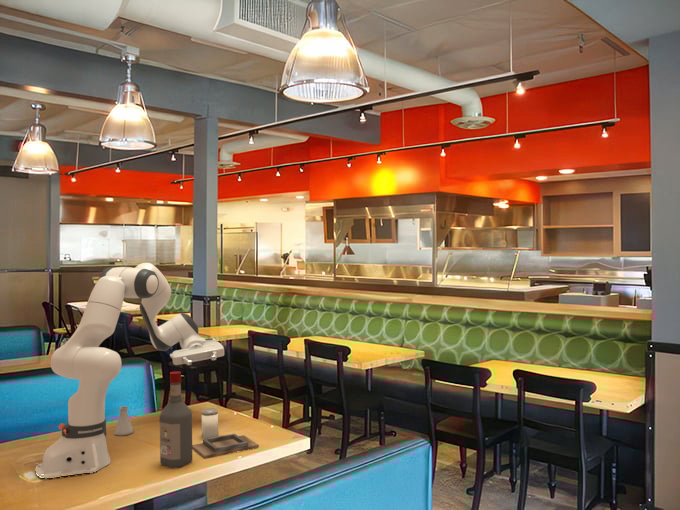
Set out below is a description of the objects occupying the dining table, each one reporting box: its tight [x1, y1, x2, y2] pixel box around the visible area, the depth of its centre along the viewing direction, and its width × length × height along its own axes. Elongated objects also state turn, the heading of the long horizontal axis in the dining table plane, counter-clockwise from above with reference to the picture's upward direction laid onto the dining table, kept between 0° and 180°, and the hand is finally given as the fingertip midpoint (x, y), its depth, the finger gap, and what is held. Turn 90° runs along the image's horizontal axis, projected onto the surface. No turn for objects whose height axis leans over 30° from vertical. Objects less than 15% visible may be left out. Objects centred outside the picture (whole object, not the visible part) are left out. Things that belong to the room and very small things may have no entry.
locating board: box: [192, 433, 259, 460], centre depth 214 cm, size 20×13×2 cm, turn 123°
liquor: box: [159, 370, 193, 469], centre depth 199 cm, size 9×9×30 cm
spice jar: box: [201, 407, 219, 440], centre depth 226 cm, size 6×6×10 cm
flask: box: [113, 406, 135, 437], centre depth 231 cm, size 7×7×10 cm
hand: (201, 360), depth 233 cm, fingers open, 8 cm apart
